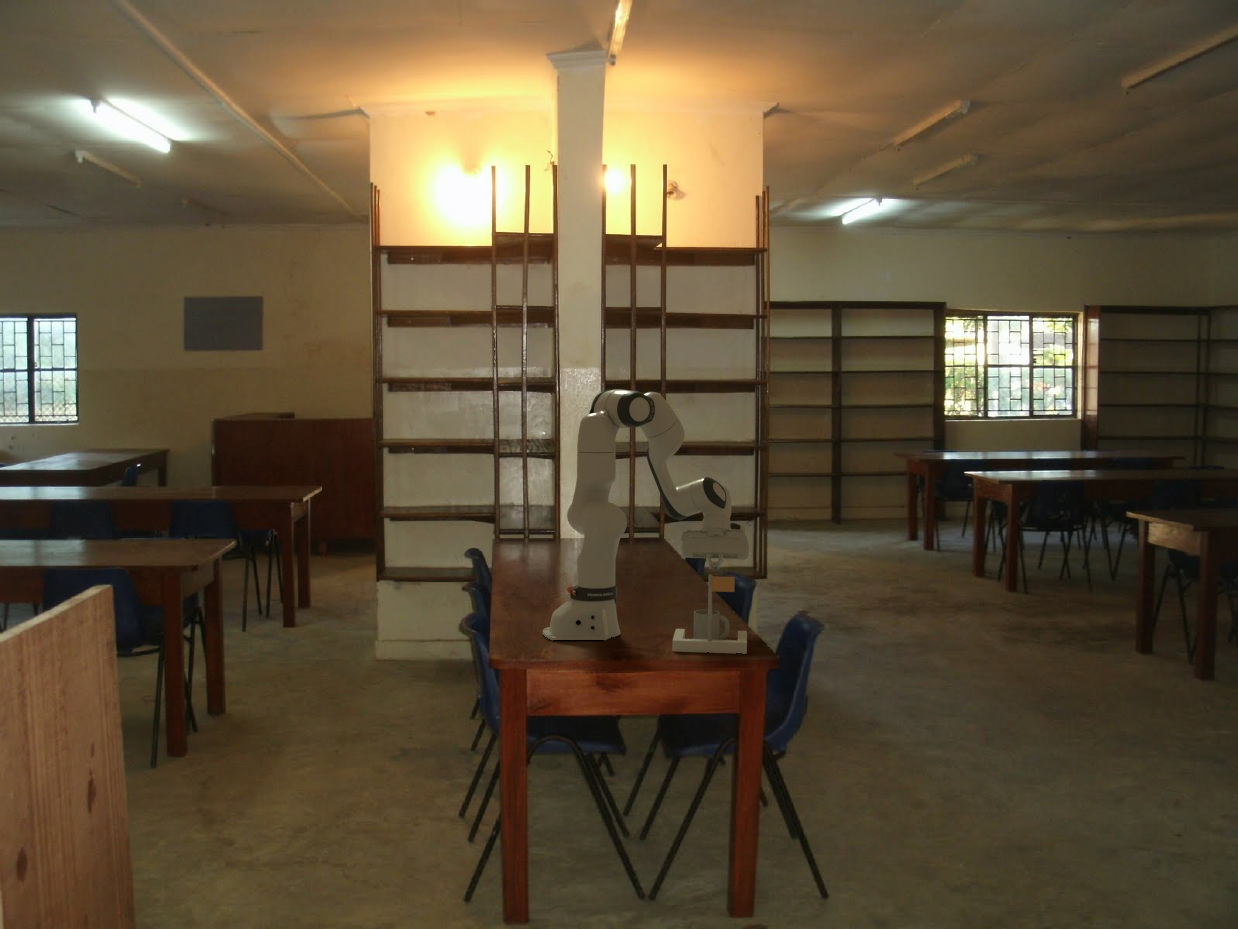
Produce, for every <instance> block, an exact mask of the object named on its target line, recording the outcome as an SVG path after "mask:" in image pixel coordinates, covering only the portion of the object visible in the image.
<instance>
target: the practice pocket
mask: <svg viewBox="0 0 1238 929" xmlns="http://www.w3.org/2000/svg"><path fill="white" fill-rule="evenodd" d="M735 578H736V577H735V576H713V574H708V579H707V580H708V582H707V583H708V585H707V586H708V591H707V592H708V594H707V596H708V597H707V604H708V606H707V610H708V639H694V638H685V637H686V629H685V628H675V631H674V633H673V638H672V642H671V644H672V645H671V646H672V648H671V650H672V652H681V653H705V654H706V653H707V652H709V653H710V654H712V653H713V654H736V653H742V655H743V654H744V655H746V654H747V653H748V652H747V650H748V649H747V648H748V647H747V646H748V631H747V630H738V631H737V639H736V640H735V639H733V640H732V639H720V640H712V610H713V592H720V593H723V592H725V593H726V592H727V593H735ZM707 654H708V653H707Z"/></svg>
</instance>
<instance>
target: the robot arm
mask: <svg viewBox="0 0 1238 929" xmlns="http://www.w3.org/2000/svg"><path fill="white" fill-rule="evenodd" d="M624 428H625V429H628V428H631V429H634V428H635V429H636V428H641V430H642V432H643V434H644V436H645V437H646V439H647V443H648V447H647V449H646V453H645V454H646V460H647V463H648V466H649V469H650V472H651V474H652V477H653V479H654V481H655V484H656V486H657V489H658V491H659V494H660V497H661V501H662V504H663V508H664V511H665V513H666V514H667V516H669V517H670V518H672V519H674V520H676V521H682V520H684V519H686V518H688V517H690V516H693V515H696V514H699V513H702V514H703V515H702V516H703V519H702V520H701V530H691V529H689V530H686V531H684V532H682V533H681V539H680V540H681V541H682V542H681V543H682V544H681V555H682V557H683V558H688V559H705V560H706V563H707V564H708V565H709V566H708V567H709V570H720V566H721V565H722V564H723V562H724V560H748V558H749V556H750V555H749V554H750V551H749V550H750V549H749V548H750V547H749V539H748V537H747V534H746V528H745V525H743V524H740V523H737V522H734V521H731V516H732V498H731V494H730V491H729V489H728V488H727V487H726V486H725V485H724V484H720V482H718V481H717V480H715V479H714V478H712V477H709V476H704V477H702V478H699V479H695V480H693V481H691V482H688V483H685V484H682V485H676V484H674V482H673V480H672V476H671V473H670V471H669V469H668V466H667V462H668V461H669V459H670V458H671V457H673V456H674V455H675V454H676V453H677V452H678V451H679V449H680V448H681V446H682V445H683V442H684V441H685V435H686V434H685V428H684V427H683V424H682V422H681V421H680V419H679V417H678V416H677V414H676V412H675V411H674V409H673V408H672V407H671V405H670V404H669V403H668V401H667V399H665V398H664V397H663V396H662V395H661V394H660V393H659V392H656V391H648V392H645V393H642V392H641V391H638V390H628V389H622V388H617V389H616V388H615V389H605V390H603V391H601V392H599V393H597V394H596V395H595V396H594V398H593V400H592V402H591V407H590V410H589V412H588V414H586V415H585V416H583V417H582V418H581V420H580V422H579V428H578V434H577V443H576V444H577V446H576V449H577V450H576V454H577V455H576V464H577V465H576V482H575V489H574V493H573V498H572V502H571V504H570V505H569V507H568V509H567V514H566V518H567V519H566V520H567V522H568V523H569V525H570V527H571V528H572V529H573V530H575V531H576V532H577V533H578V534H580V535H583V536H584V537H583V541H582V542H583V543H582V547H581V551H580V553H579V555H578V556H577V560H576V575H577V576H576V584H575V585H574V586H573V585H570V584H569V585H567V586H566V588H565V589H566V592H568V593H569V596H570V597H569V599H568V600H566V601H565V602H563V604H561V605H560V606H559V607H558V608H556V609H555V610H554V611H553V612H552V615H551V618H550V625H549V626H548V627H544V628H543V629H542V636H543V635H544V636H545V637H547V638H548V639H547V638H546V639H547V640H549V639H550V641H553V640H604V641H607V640H609V639H611V637H612V638H615V637H618V636H620V635H621V630H620V629H621V628H620V626H619V622H618V615H617V614H618V613H617V603H618V602H617V601H618V589H617V588H618V586H617V585H616V558H617V553H618V548H619V544H620V540H621V537H622V536H623V534H624V533H625V531H626V529H627V525H628V519H627V516H626V513H625V512H624V511H623V510H622V509H621V508H620V507H619V506H617V505H616V504H615V503H612V502H610V501H609V496H610V492H611V488H612V486H613V484H614V482H615V480H616V468H617V467H616V464H617V462H616V454H617V452H616V438H617V437H616V436H617V434H618V431H619V430H620V429H624ZM712 559H715V560H716V559H718V560H717V561H712ZM544 636H543V637H544ZM545 637H544V638H545Z"/></svg>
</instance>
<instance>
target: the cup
mask: <svg viewBox="0 0 1238 929" xmlns="http://www.w3.org/2000/svg"><path fill="white" fill-rule="evenodd" d="M720 614H721V612H720V611H719V610H715V609H712V640H725V638H727V637H728V635H729V634H730V621H729V620H728V618H727V617H726V616H724V615H720ZM720 622H722V624H723V631H722V633H720V630H721V628H720V626H721V625H720ZM693 639H708V609H696V610H694V611H693Z"/></svg>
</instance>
